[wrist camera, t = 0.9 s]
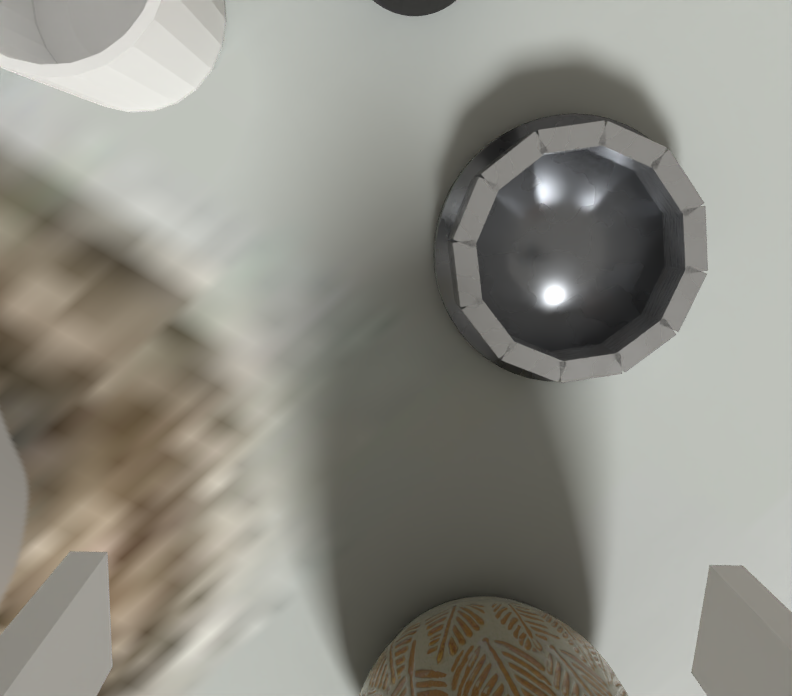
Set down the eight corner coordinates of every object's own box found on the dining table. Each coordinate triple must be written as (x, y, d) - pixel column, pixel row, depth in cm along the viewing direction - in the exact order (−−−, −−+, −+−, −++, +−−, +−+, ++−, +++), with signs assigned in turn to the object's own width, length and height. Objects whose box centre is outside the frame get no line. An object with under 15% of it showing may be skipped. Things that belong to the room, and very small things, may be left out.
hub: (381, 230, 38) (382, 232, 34) (596, 58, 36) (620, 43, 33) (532, 425, 41) (548, 445, 37) (737, 273, 39) (773, 280, 36)
